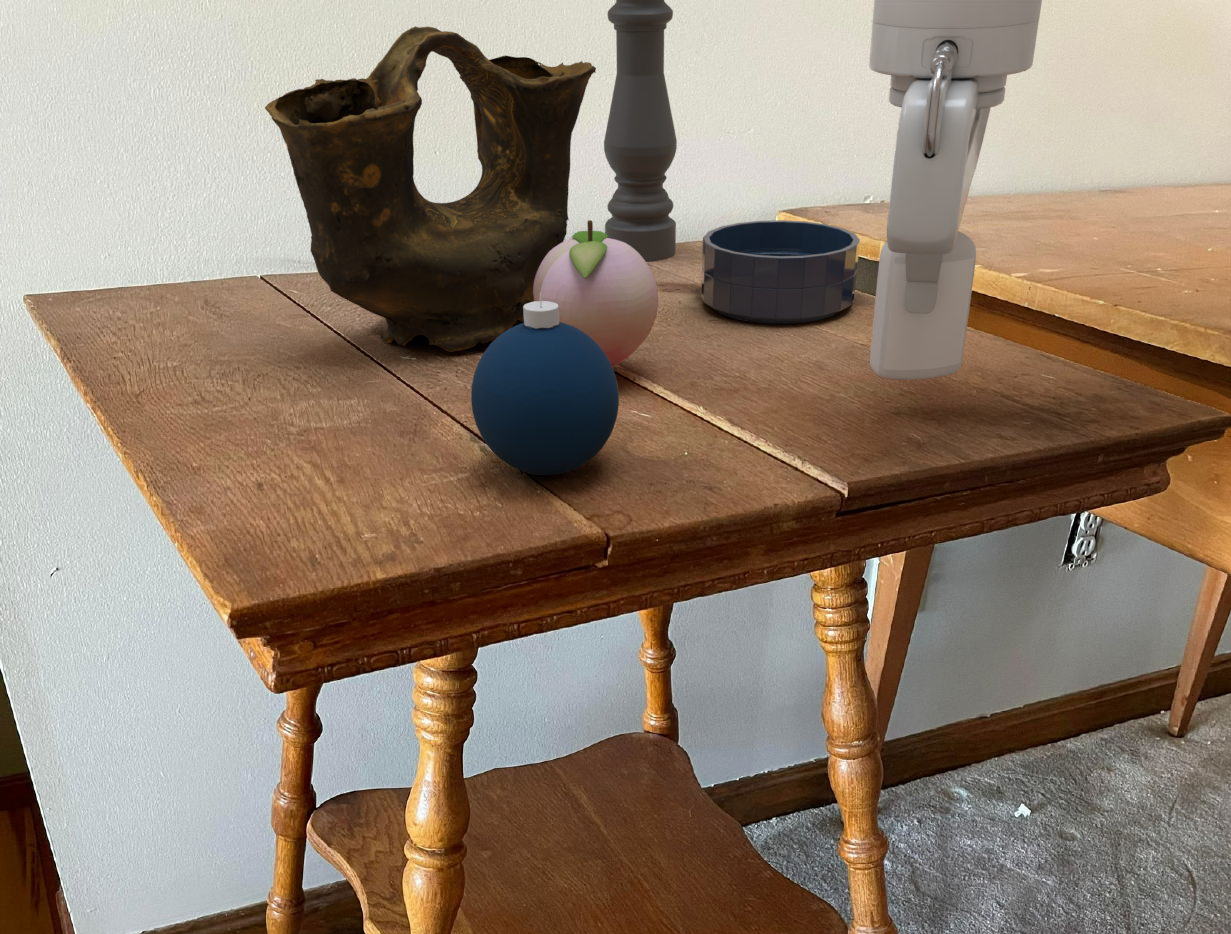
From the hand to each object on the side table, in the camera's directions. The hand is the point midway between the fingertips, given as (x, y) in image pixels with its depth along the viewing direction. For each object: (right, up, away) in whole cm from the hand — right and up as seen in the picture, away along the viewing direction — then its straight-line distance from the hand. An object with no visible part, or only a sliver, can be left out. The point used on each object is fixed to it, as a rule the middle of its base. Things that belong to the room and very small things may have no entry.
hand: (923, 297), depth 77 cm
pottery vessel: (-31, +5, +19) cm, 36 cm away
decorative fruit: (-20, -1, +11) cm, 23 cm away
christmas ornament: (-23, -11, -3) cm, 26 cm away
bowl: (-6, +9, +24) cm, 26 cm away
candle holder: (-17, +17, +35) cm, 42 cm away
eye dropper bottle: (0, -4, +3) cm, 5 cm away
